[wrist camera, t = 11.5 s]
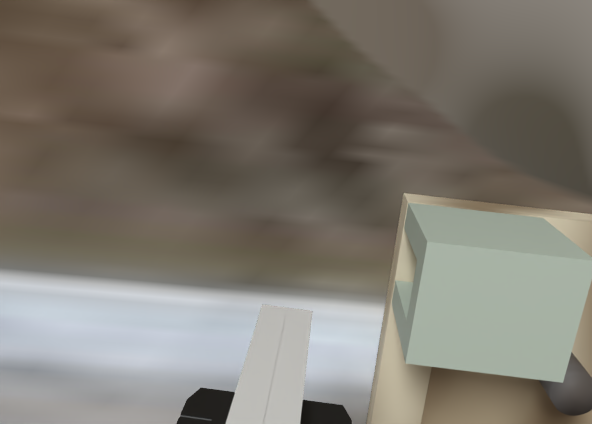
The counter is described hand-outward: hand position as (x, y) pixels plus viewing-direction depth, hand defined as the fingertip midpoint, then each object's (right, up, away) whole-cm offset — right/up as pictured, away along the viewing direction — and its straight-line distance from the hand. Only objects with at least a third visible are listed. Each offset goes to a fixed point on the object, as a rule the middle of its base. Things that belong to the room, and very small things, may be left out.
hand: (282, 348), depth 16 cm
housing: (+8, +2, +9) cm, 12 cm away
